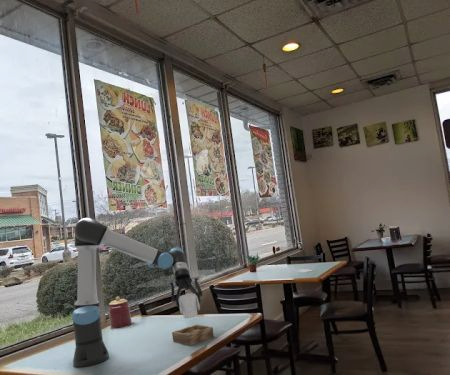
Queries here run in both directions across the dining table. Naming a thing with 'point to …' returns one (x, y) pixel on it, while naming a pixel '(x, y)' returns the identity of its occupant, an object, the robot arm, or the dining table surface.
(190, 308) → the white cup
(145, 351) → the dining table surface
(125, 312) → the canister
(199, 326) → the brown wooden tray
